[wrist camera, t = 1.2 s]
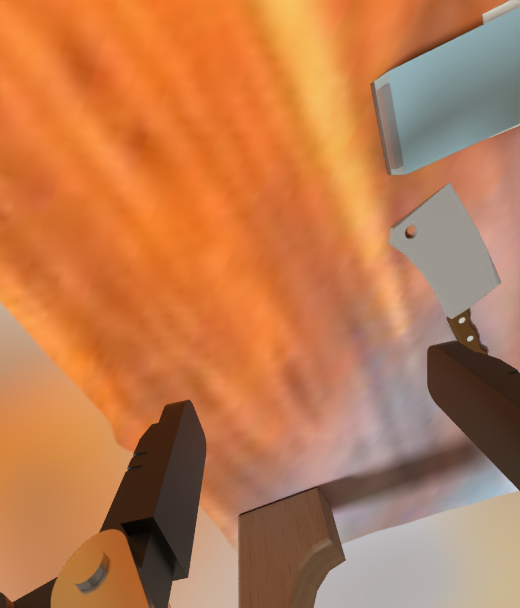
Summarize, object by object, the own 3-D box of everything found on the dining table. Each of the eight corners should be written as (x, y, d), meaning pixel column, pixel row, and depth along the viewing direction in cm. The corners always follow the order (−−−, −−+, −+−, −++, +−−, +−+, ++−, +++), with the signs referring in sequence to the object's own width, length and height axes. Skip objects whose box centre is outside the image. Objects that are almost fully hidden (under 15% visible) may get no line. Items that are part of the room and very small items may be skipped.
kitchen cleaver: (532, 335, 35) (460, 378, 36) (524, 332, 36) (454, 373, 37) (475, 162, 25) (383, 228, 27) (467, 163, 26) (378, 227, 28)
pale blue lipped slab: (355, 93, 23) (380, 75, 19) (472, 35, 22) (524, 4, 18) (373, 177, 26) (398, 178, 22) (477, 130, 25) (523, 122, 21)
